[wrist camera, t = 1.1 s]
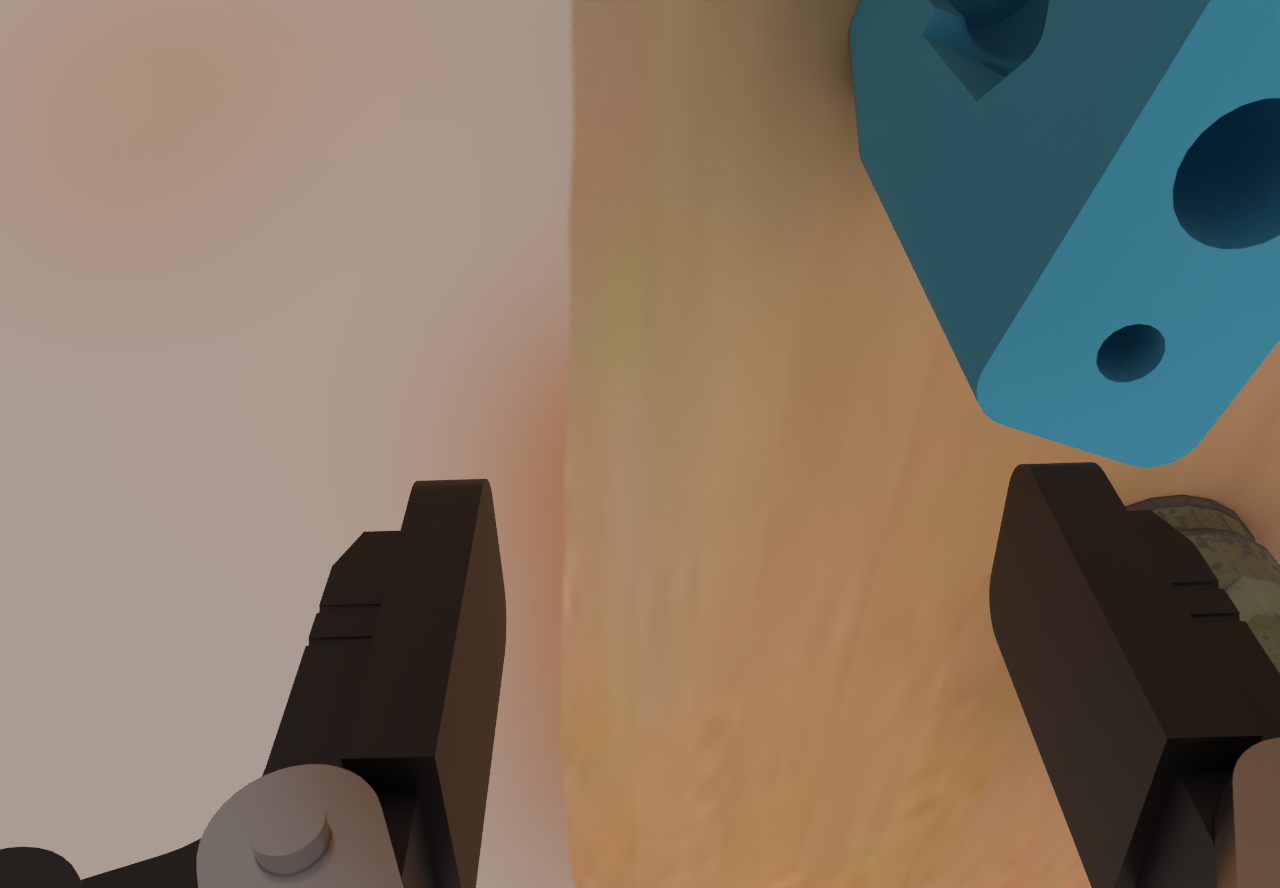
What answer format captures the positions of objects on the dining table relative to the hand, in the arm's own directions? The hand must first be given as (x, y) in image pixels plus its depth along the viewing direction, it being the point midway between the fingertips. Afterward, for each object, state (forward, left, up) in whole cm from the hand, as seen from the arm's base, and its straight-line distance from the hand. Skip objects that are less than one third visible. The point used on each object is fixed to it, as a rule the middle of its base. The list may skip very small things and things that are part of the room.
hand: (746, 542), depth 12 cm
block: (0, +10, -30) cm, 31 cm away
